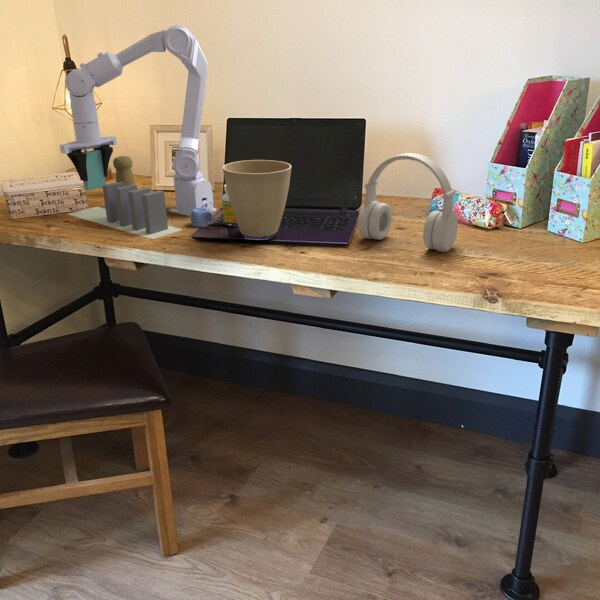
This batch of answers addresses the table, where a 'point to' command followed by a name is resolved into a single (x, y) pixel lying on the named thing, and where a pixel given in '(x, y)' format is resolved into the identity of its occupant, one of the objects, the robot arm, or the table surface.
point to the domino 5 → (154, 212)
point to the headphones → (437, 225)
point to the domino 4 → (137, 207)
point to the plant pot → (257, 194)
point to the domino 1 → (94, 170)
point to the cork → (123, 170)
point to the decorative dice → (200, 216)
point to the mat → (100, 217)
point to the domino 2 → (111, 201)
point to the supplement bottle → (227, 208)
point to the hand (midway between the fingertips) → (94, 178)
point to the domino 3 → (124, 204)
